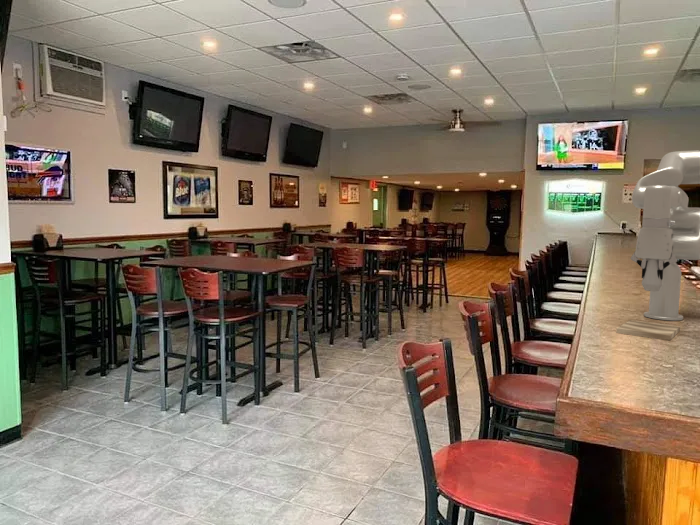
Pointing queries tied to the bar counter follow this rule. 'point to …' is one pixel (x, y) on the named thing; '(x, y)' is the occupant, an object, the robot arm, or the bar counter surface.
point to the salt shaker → (652, 276)
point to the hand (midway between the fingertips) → (651, 280)
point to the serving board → (648, 329)
